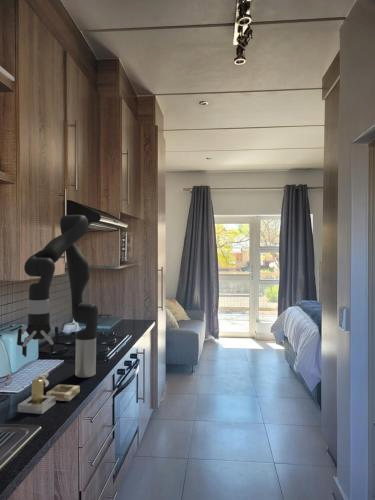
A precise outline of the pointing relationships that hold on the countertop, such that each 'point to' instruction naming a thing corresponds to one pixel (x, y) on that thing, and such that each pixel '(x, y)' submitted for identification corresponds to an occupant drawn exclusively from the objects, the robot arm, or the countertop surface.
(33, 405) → the socket block
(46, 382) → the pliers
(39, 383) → the brass peg
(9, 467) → the countertop surface
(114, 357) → the countertop surface
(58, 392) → the rack block
